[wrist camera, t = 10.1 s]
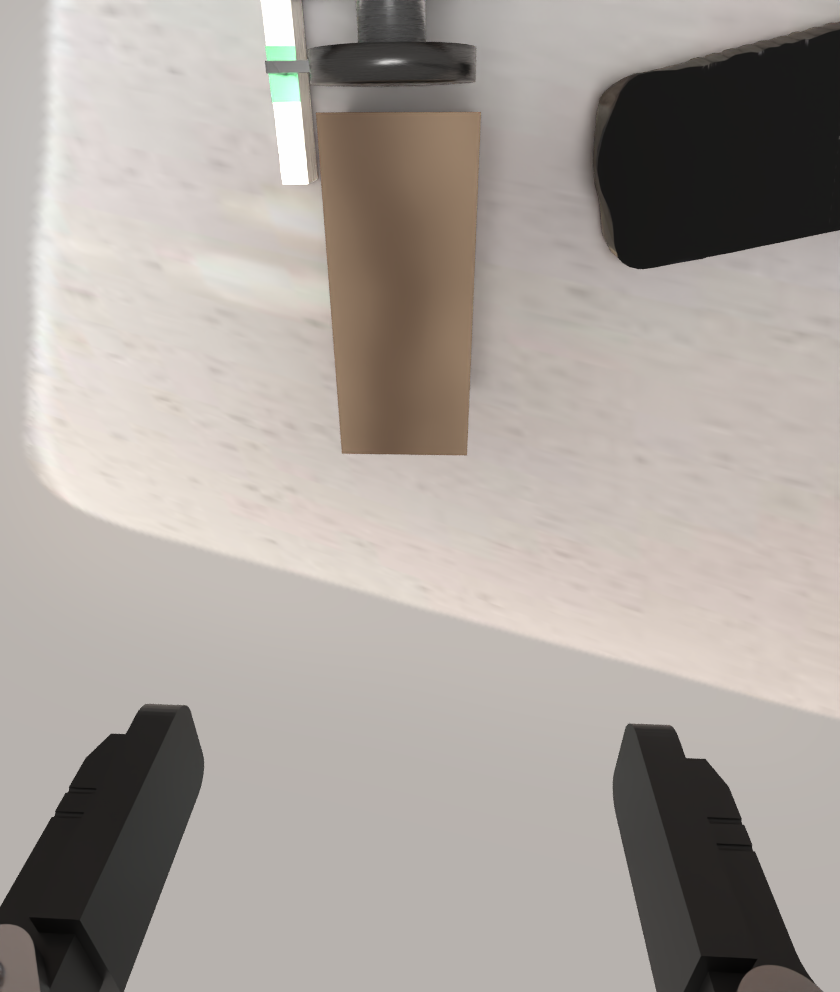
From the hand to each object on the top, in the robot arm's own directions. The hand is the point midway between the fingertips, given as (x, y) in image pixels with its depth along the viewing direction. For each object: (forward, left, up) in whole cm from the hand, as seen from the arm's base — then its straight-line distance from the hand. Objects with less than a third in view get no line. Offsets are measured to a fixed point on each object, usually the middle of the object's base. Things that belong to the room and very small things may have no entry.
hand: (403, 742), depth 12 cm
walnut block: (+1, -3, -27) cm, 27 cm away
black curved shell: (-16, -8, -28) cm, 33 cm away
